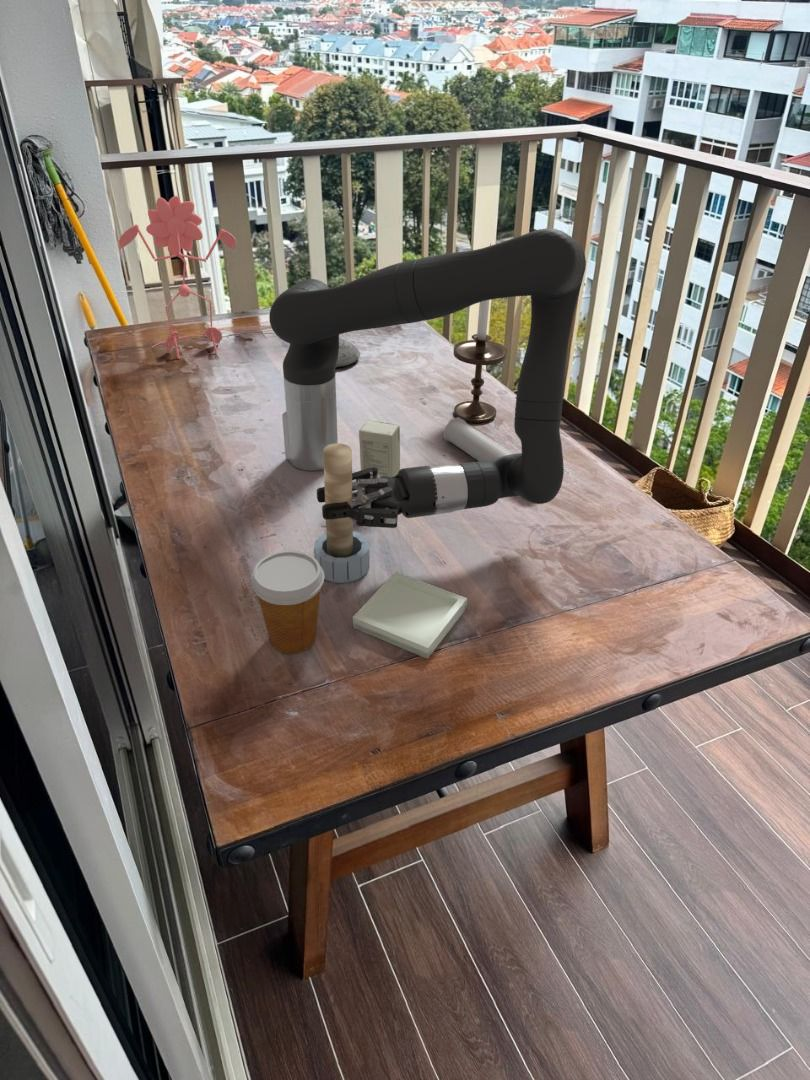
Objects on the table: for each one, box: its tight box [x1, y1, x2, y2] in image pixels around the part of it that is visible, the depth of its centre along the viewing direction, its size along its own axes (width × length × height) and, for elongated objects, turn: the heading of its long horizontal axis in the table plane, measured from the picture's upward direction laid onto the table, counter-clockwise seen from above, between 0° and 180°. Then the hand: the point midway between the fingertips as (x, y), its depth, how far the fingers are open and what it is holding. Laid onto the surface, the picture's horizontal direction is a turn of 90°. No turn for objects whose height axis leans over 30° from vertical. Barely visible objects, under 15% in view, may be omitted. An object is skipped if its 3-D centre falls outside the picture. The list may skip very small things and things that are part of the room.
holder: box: [313, 530, 371, 584], centre depth 117 cm, size 8×8×4 cm
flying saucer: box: [335, 337, 361, 368], centre depth 183 cm, size 15×15×6 cm
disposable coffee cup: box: [250, 550, 325, 655], centre depth 101 cm, size 10×10×12 cm
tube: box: [443, 417, 513, 462], centre depth 143 cm, size 5×5×25 cm
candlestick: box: [452, 243, 508, 425], centre depth 151 cm, size 11×11×35 cm
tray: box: [352, 571, 468, 659], centre depth 108 cm, size 12×12×2 cm
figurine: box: [118, 195, 237, 360], centre depth 178 cm, size 15×26×35 cm, turn 113°
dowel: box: [323, 443, 354, 558], centre depth 111 cm, size 4×4×18 cm
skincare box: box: [358, 419, 401, 491], centre depth 133 cm, size 6×4×12 cm
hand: (320, 503), depth 110 cm, fingers closed on dowel, 4 cm apart
